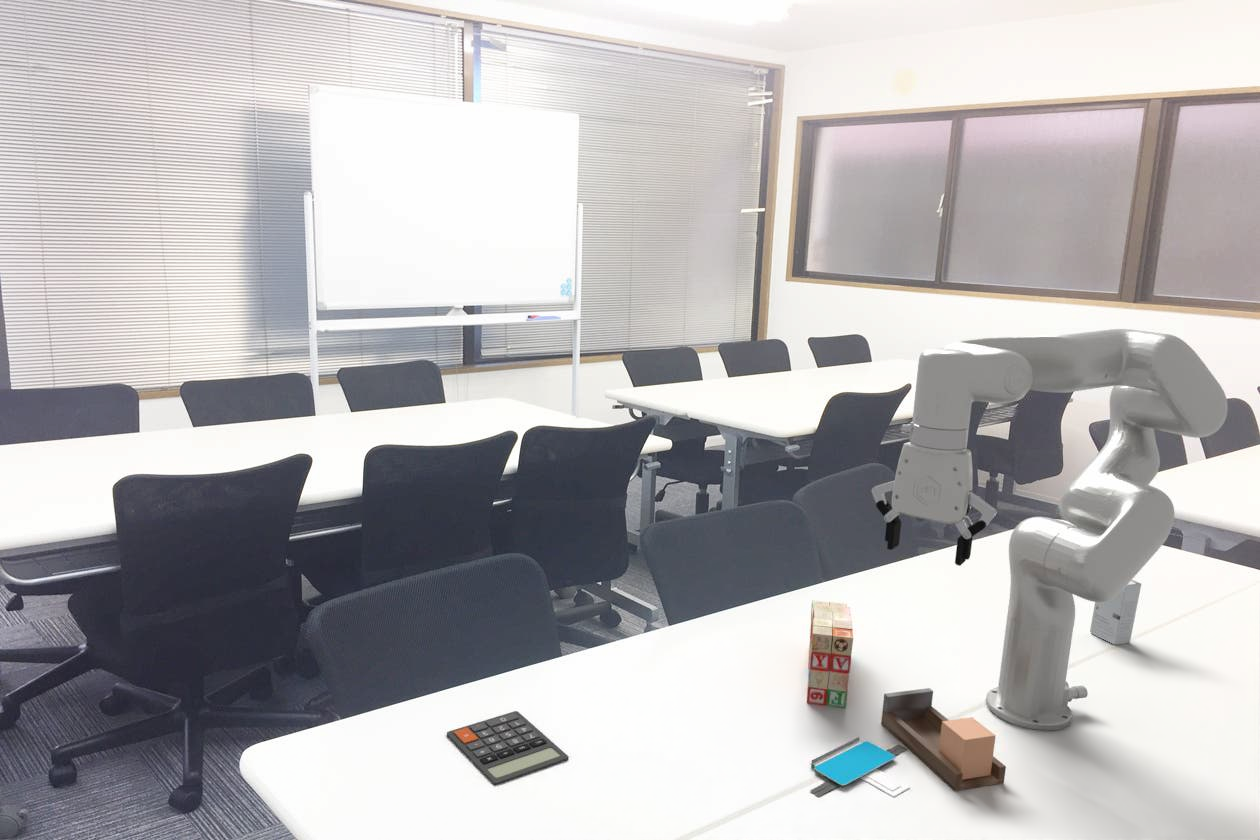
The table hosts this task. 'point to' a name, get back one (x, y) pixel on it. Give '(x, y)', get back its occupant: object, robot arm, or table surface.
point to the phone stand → (857, 767)
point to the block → (967, 746)
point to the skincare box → (1116, 615)
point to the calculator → (506, 747)
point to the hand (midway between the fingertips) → (925, 554)
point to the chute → (929, 736)
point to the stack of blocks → (829, 654)
